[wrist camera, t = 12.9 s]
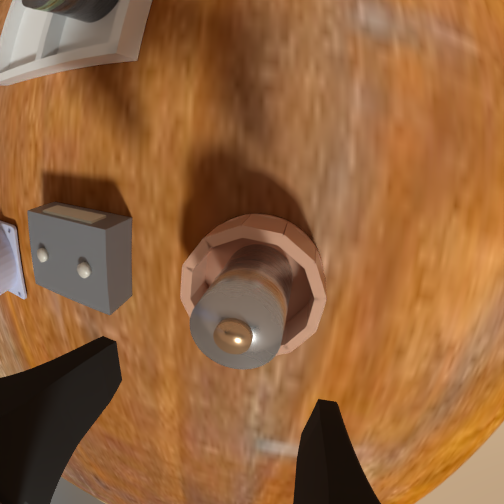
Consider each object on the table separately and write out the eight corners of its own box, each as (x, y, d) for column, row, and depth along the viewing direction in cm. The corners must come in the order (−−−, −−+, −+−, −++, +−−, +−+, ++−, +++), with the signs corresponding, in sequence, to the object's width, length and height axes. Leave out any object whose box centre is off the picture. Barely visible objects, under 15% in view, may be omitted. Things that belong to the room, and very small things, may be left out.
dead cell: (224, 299, 19) (187, 363, 13) (228, 239, 18) (185, 287, 12) (288, 310, 18) (274, 382, 12) (297, 249, 17) (287, 306, 11)
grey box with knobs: (59, 269, 22) (32, 285, 19) (54, 199, 20) (23, 209, 17) (132, 295, 21) (106, 318, 18) (132, 215, 19) (101, 229, 16)
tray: (8, 85, 17) (-11, 85, 15) (35, -12, 13) (19, -17, 11) (137, 60, 15) (116, 53, 13) (173, -61, 11) (159, -76, 9)
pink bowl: (194, 313, 20) (178, 337, 18) (205, 201, 18) (185, 212, 15) (306, 340, 19) (304, 369, 17) (338, 229, 17) (342, 246, 14)
